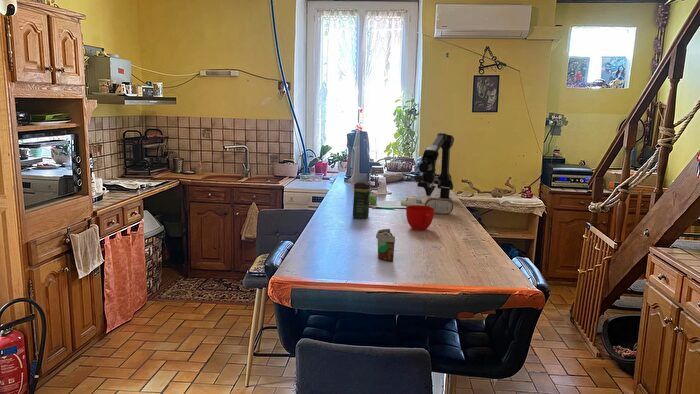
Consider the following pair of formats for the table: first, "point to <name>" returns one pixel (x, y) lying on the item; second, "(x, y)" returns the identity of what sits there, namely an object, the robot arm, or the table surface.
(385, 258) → the food container
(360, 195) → the coffee jar
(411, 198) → the tile
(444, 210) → the tin
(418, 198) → the plate
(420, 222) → the ceramic cup
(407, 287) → the table surface
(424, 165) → the robot arm
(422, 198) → the tile
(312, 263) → the table surface
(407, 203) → the box
